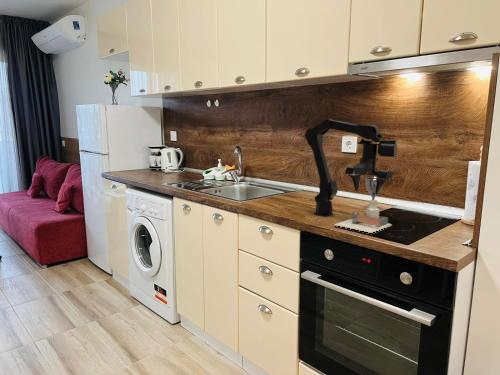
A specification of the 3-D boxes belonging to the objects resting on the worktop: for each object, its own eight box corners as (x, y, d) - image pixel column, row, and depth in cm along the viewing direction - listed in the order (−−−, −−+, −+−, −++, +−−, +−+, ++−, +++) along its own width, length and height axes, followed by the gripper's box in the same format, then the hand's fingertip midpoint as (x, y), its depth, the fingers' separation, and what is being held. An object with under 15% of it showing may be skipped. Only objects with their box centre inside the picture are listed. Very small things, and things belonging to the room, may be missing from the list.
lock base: (334, 225, 148) (334, 218, 147) (355, 218, 159) (356, 211, 159) (371, 234, 136) (372, 226, 136) (391, 225, 148) (392, 218, 148)
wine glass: (360, 207, 180) (362, 177, 178) (373, 206, 183) (375, 176, 181) (372, 211, 173) (374, 179, 170) (384, 209, 176) (387, 178, 174)
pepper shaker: (373, 222, 151) (375, 199, 150) (379, 224, 147) (380, 201, 146) (364, 222, 150) (366, 199, 149) (369, 225, 147) (371, 201, 145)
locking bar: (351, 223, 149) (351, 212, 149) (354, 222, 151) (354, 211, 150) (377, 229, 141) (378, 218, 140) (380, 228, 142) (381, 217, 142)
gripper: (338, 154, 153) (336, 191, 156) (381, 158, 139) (377, 198, 142) (353, 153, 160) (351, 188, 163) (394, 157, 147) (391, 195, 150)
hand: (366, 192), depth 154 cm, fingers open, 9 cm apart
